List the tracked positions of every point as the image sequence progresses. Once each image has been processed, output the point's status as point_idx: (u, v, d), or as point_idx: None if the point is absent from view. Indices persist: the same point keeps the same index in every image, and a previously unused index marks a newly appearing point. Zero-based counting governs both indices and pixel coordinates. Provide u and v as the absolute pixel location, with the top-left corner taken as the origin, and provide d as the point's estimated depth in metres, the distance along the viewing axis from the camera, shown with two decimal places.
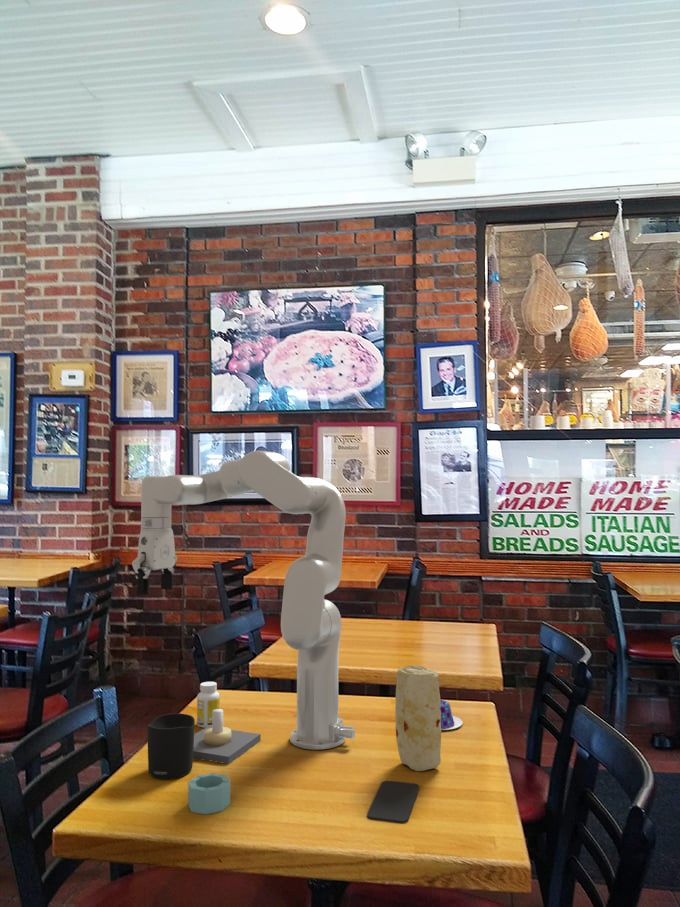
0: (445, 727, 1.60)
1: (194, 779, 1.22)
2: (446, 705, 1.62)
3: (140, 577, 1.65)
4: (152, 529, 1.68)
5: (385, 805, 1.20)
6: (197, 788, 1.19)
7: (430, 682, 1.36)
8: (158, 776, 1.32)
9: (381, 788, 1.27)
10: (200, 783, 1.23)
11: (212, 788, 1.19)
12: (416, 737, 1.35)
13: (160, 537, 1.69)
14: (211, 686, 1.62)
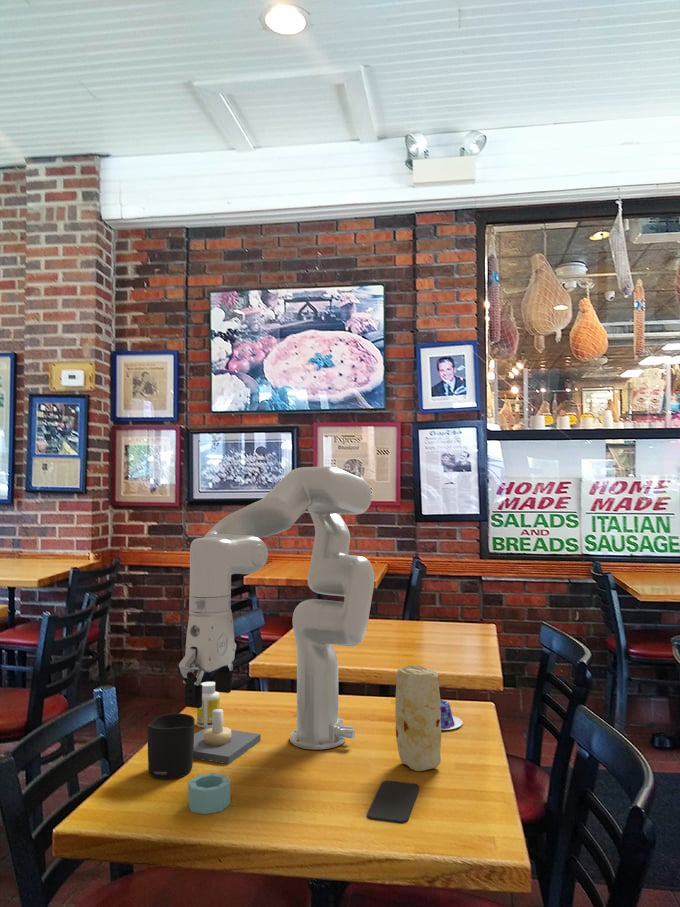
0: (446, 727, 1.60)
1: (194, 779, 1.22)
2: (446, 705, 1.63)
3: (190, 683, 1.17)
4: (206, 614, 1.20)
5: (385, 805, 1.20)
6: (197, 788, 1.19)
7: (430, 682, 1.36)
8: (158, 776, 1.32)
9: (381, 788, 1.27)
10: (200, 783, 1.23)
11: (212, 788, 1.19)
12: (416, 737, 1.35)
13: (217, 624, 1.21)
14: (211, 686, 1.62)
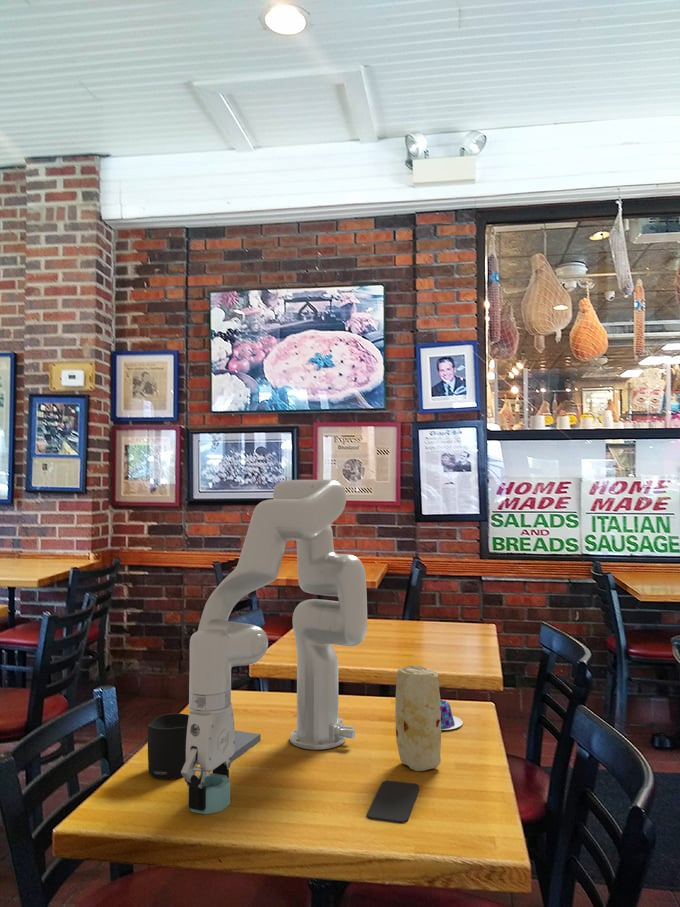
0: (447, 727, 1.60)
1: None
2: (447, 705, 1.63)
3: (193, 786, 1.17)
4: (206, 712, 1.19)
5: (385, 805, 1.20)
6: None
7: (430, 682, 1.36)
8: (158, 776, 1.32)
9: (381, 788, 1.27)
10: None
11: (212, 788, 1.19)
12: (416, 737, 1.35)
13: (217, 721, 1.20)
14: None
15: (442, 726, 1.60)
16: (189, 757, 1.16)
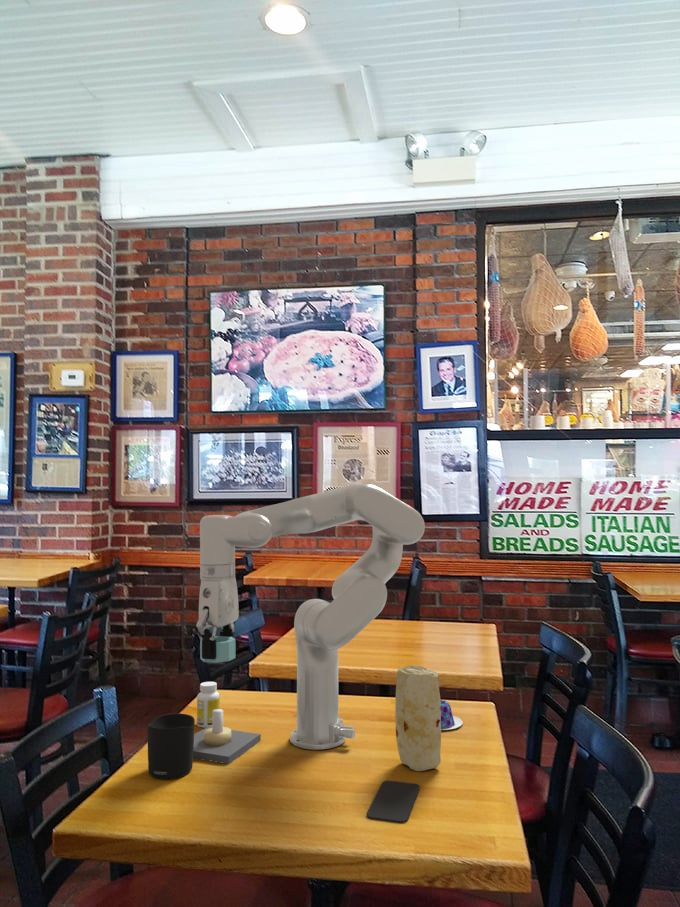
0: (449, 726, 1.61)
1: None
2: (447, 704, 1.63)
3: (206, 639, 1.40)
4: (215, 579, 1.42)
5: (385, 805, 1.20)
6: None
7: (430, 682, 1.36)
8: (158, 776, 1.32)
9: (381, 788, 1.27)
10: None
11: (220, 642, 1.43)
12: (416, 737, 1.35)
13: (225, 587, 1.43)
14: (211, 686, 1.62)
15: (444, 726, 1.60)
16: (202, 614, 1.40)
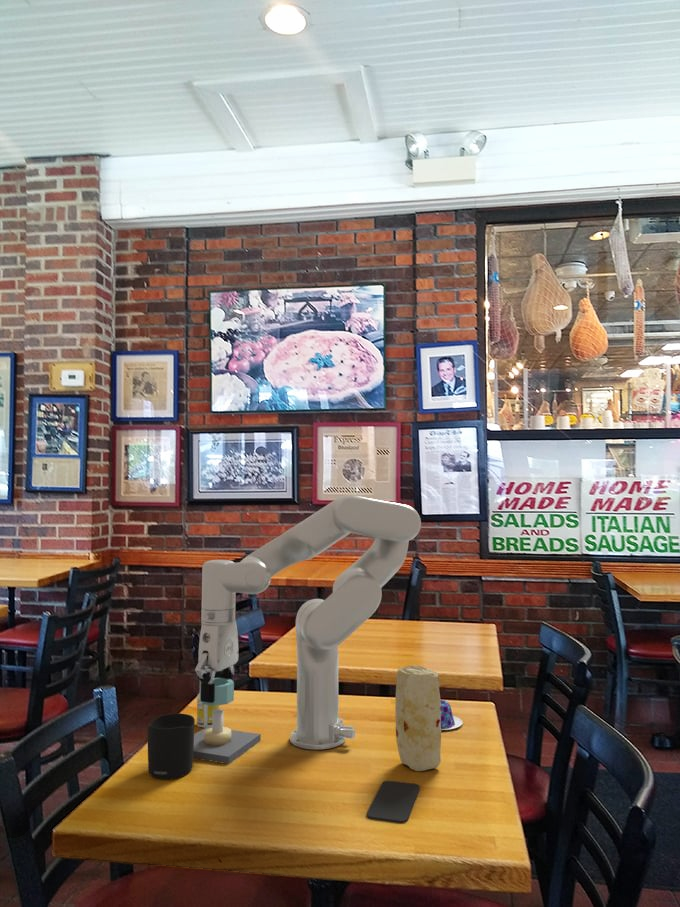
0: (449, 726, 1.61)
1: None
2: (447, 704, 1.63)
3: (205, 683, 1.44)
4: (215, 624, 1.46)
5: (385, 805, 1.20)
6: None
7: (430, 682, 1.36)
8: (158, 776, 1.32)
9: (381, 788, 1.27)
10: None
11: (219, 685, 1.46)
12: (416, 737, 1.35)
13: (224, 632, 1.47)
14: None
15: (444, 726, 1.60)
16: (201, 659, 1.44)
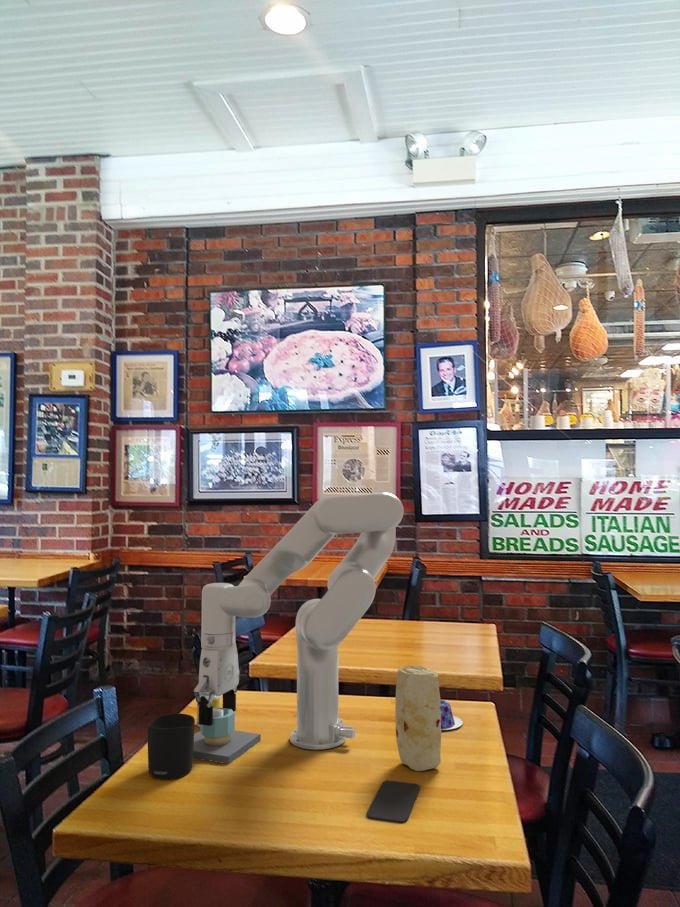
0: (450, 726, 1.61)
1: None
2: (448, 704, 1.63)
3: (203, 705, 1.43)
4: (215, 648, 1.46)
5: (385, 805, 1.20)
6: None
7: (430, 682, 1.36)
8: (158, 776, 1.32)
9: (381, 788, 1.27)
10: None
11: (220, 717, 1.46)
12: (416, 737, 1.35)
13: (224, 656, 1.47)
14: None
15: (445, 726, 1.61)
16: (201, 681, 1.43)
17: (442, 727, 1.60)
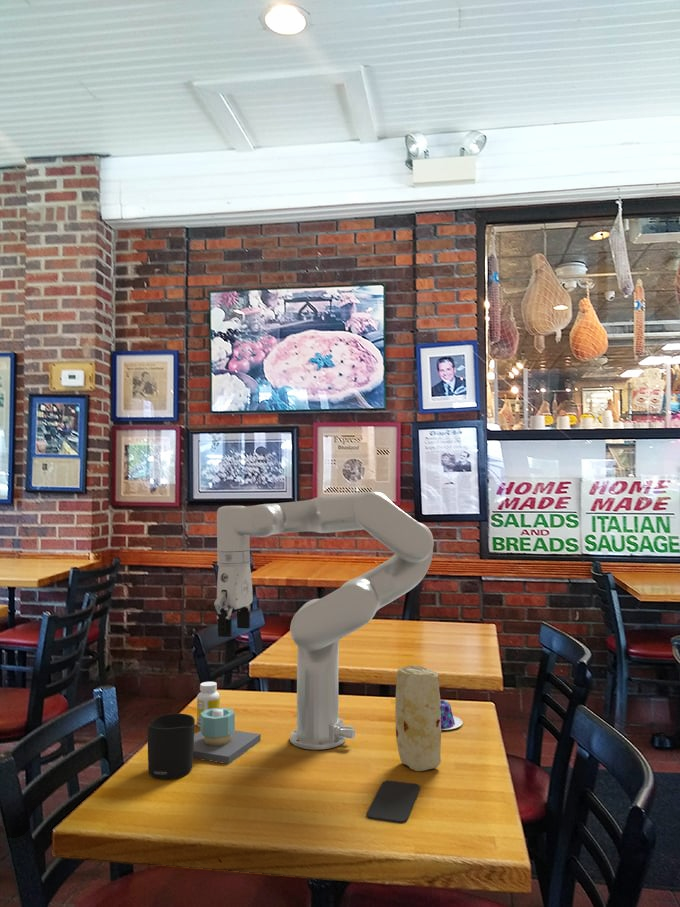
0: (451, 726, 1.61)
1: (205, 711, 1.50)
2: (448, 704, 1.63)
3: (222, 618, 1.51)
4: (232, 564, 1.54)
5: (385, 805, 1.20)
6: (208, 717, 1.46)
7: (430, 682, 1.36)
8: (158, 776, 1.32)
9: (382, 788, 1.27)
10: (210, 714, 1.50)
11: (220, 717, 1.46)
12: (416, 737, 1.35)
13: (241, 572, 1.55)
14: (211, 686, 1.62)
15: (446, 725, 1.61)
16: (220, 595, 1.51)
17: (443, 727, 1.60)
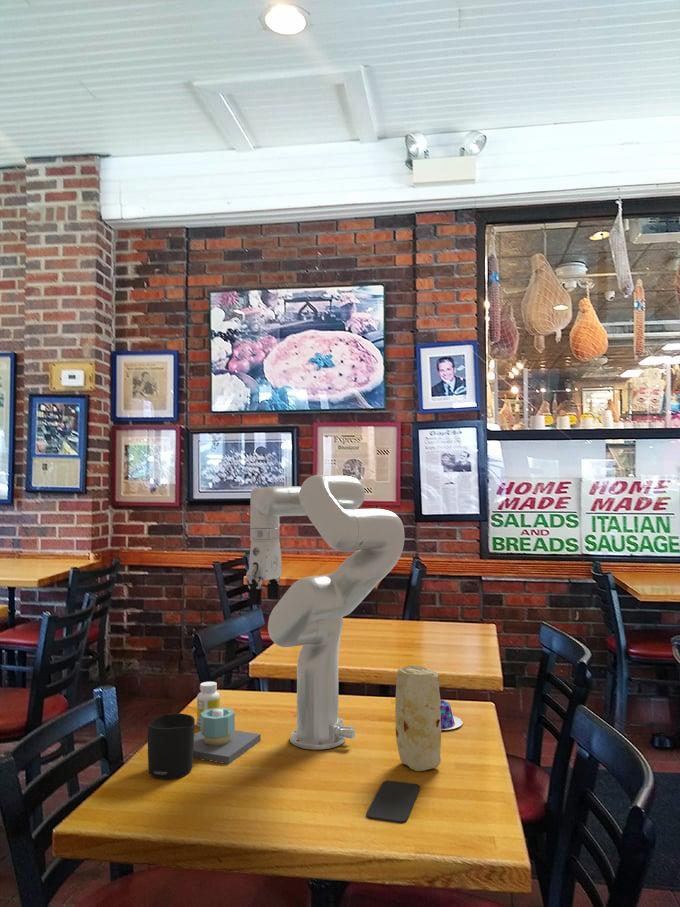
0: (451, 725, 1.61)
1: (205, 711, 1.50)
2: (448, 703, 1.64)
3: (253, 587, 1.67)
4: (263, 540, 1.70)
5: (385, 805, 1.20)
6: (208, 717, 1.46)
7: (430, 682, 1.36)
8: (158, 776, 1.32)
9: (382, 788, 1.27)
10: (210, 714, 1.50)
11: (220, 717, 1.46)
12: (416, 737, 1.35)
13: (271, 547, 1.71)
14: (211, 686, 1.62)
15: (447, 725, 1.61)
16: (252, 567, 1.67)
17: (444, 727, 1.60)
